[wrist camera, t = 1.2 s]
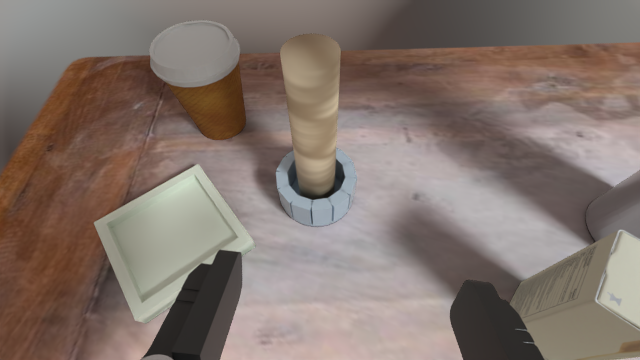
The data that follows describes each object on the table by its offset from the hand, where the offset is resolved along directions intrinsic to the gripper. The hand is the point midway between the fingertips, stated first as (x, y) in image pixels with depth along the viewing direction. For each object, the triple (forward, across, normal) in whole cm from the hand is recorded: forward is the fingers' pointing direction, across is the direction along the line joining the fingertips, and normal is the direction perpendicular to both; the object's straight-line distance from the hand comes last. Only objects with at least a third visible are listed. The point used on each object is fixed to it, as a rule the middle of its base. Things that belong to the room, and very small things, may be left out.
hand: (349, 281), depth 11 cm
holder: (+22, +1, +11) cm, 25 cm away
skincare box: (+11, -20, +15) cm, 27 cm away
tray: (+17, +15, +16) cm, 28 cm away
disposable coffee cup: (+32, +15, +8) cm, 36 cm away
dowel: (+22, +1, +11) cm, 25 cm away
